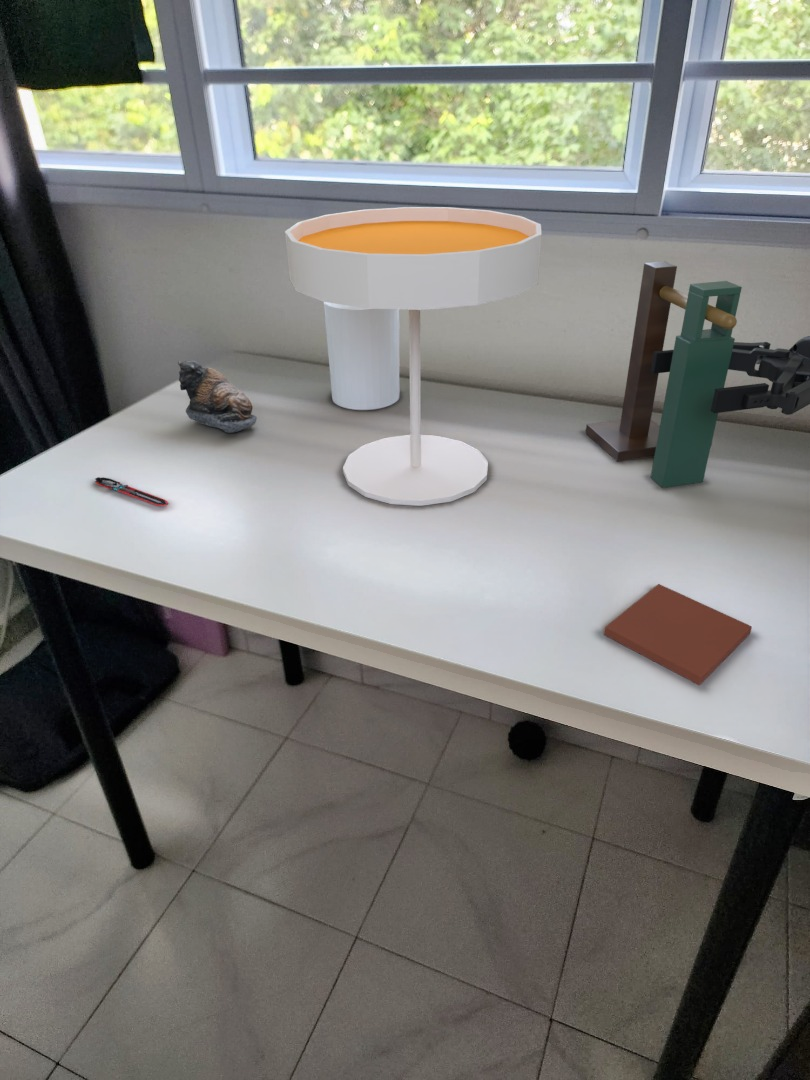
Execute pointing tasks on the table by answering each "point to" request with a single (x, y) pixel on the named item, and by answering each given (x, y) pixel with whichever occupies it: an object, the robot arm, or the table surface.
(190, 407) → the bison figurine
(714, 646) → the cork pad
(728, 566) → the table surface
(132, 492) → the pen
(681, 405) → the green block with loop
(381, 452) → the white stemmed bowl
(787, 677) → the table surface
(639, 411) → the hook stand
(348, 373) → the bottle
